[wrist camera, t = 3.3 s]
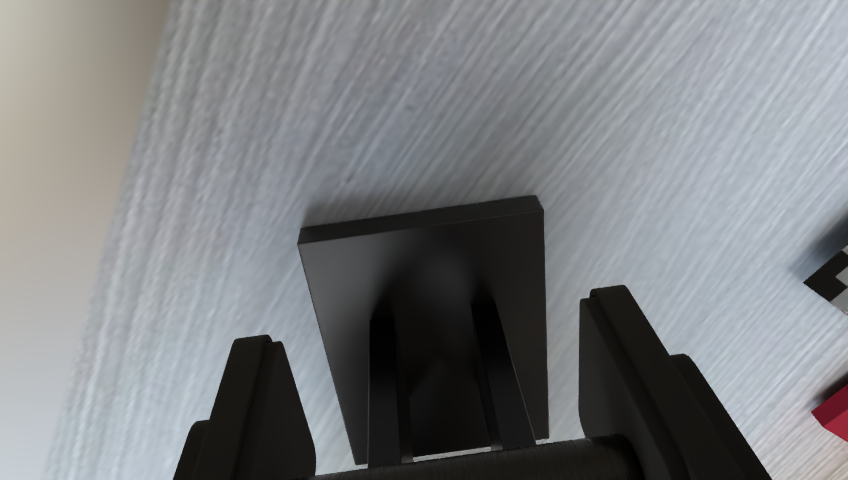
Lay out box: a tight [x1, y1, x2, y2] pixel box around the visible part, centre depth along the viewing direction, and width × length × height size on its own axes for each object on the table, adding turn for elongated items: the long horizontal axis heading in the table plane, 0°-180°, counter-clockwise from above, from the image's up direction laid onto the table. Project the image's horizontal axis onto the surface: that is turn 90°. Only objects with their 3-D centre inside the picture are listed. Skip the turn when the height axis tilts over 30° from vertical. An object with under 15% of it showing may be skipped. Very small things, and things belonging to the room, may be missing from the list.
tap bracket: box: [297, 195, 549, 468], centre depth 21 cm, size 12×9×13 cm
